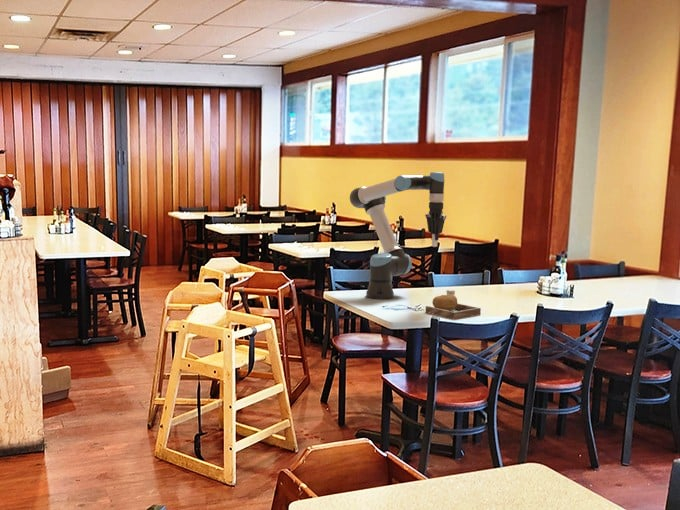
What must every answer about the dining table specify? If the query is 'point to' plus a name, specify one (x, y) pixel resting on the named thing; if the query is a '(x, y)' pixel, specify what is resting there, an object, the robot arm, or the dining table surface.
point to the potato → (445, 302)
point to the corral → (459, 314)
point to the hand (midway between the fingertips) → (434, 246)
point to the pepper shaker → (450, 292)
